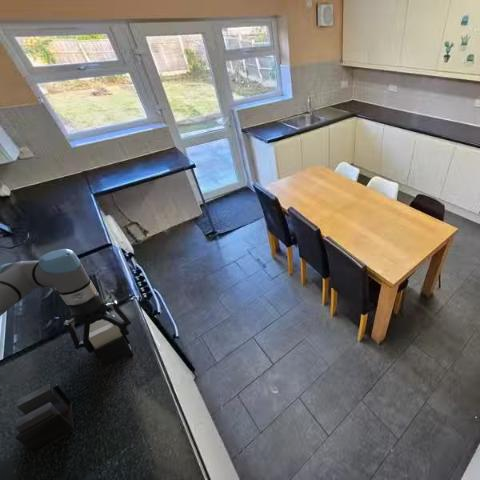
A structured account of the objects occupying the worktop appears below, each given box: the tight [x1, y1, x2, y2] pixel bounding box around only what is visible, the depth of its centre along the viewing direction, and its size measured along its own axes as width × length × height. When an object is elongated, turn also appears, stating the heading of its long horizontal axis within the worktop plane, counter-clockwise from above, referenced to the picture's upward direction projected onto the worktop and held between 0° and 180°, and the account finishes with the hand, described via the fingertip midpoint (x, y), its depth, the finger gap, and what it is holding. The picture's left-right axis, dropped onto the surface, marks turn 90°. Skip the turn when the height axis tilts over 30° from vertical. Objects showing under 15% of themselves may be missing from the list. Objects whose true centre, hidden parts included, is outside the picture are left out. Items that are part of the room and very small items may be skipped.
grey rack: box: [14, 383, 75, 455], centre depth 72 cm, size 11×8×11 cm
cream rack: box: [89, 314, 134, 368], centre depth 92 cm, size 11×8×12 cm
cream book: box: [88, 323, 122, 349], centre depth 90 cm, size 2×8×11 cm, turn 133°
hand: (114, 348), depth 92 cm, fingers closed on cream book, 8 cm apart
